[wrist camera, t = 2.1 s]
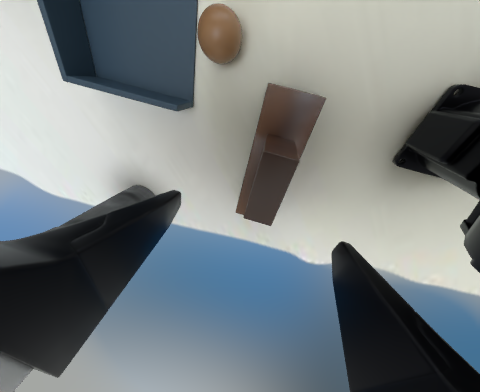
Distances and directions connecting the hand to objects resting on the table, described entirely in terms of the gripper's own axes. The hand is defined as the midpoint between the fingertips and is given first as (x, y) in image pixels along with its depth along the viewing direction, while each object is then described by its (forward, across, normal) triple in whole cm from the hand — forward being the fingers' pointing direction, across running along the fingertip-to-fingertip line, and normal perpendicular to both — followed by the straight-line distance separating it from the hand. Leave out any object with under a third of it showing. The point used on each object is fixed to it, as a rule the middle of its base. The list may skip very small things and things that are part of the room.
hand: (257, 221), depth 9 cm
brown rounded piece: (+9, +6, -8) cm, 14 cm away
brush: (+11, 0, 0) cm, 11 cm away
